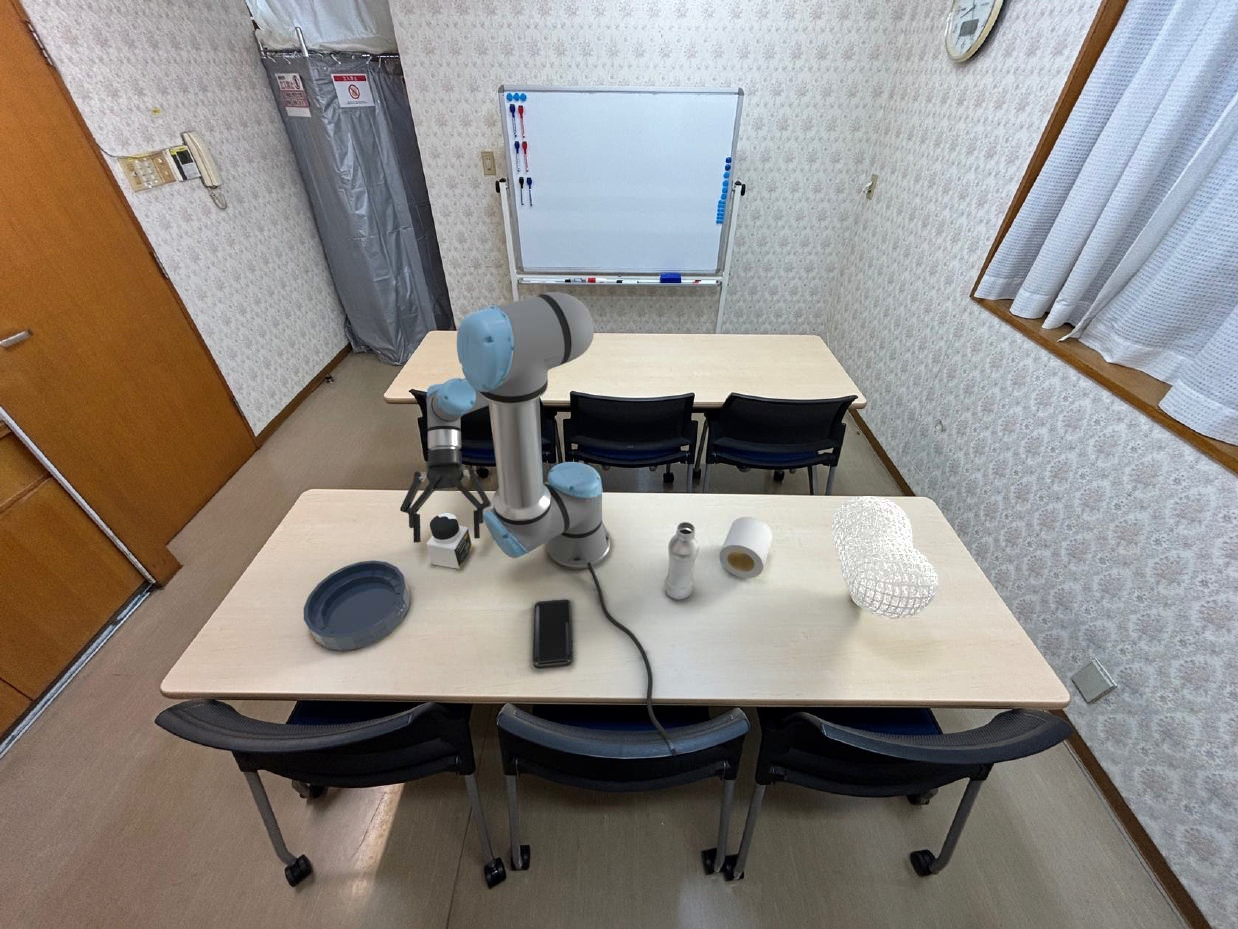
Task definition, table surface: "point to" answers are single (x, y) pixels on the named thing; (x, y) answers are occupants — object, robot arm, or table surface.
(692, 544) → the plastic bottle
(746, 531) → the toilet paper
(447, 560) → the medicine bottle
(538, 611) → the phone
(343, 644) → the bowl
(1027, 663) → the table surface
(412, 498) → the robot arm
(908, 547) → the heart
